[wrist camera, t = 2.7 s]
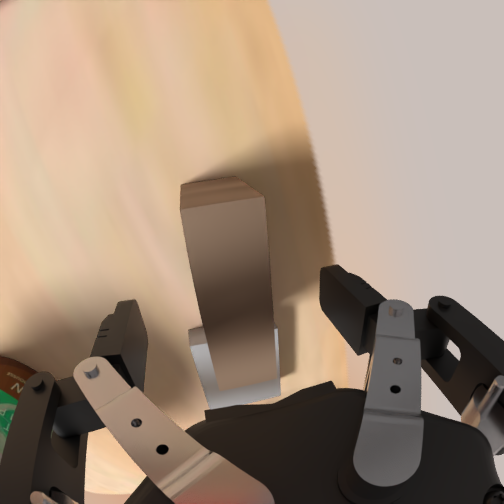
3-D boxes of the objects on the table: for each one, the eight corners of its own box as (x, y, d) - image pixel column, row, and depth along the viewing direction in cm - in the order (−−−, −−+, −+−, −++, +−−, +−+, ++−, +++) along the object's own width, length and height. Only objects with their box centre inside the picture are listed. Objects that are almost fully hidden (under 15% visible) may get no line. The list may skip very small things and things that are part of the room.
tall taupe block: (157, 189, 13) (144, 216, 8) (258, 173, 14) (297, 192, 9) (207, 394, 18) (218, 453, 14) (274, 380, 19) (297, 435, 15)
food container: (113, 403, 17) (107, 528, 8) (87, 434, 18) (80, 534, 9) (-28, 310, 12) (-95, 412, 3) (-34, 358, 13) (-77, 447, 4)
